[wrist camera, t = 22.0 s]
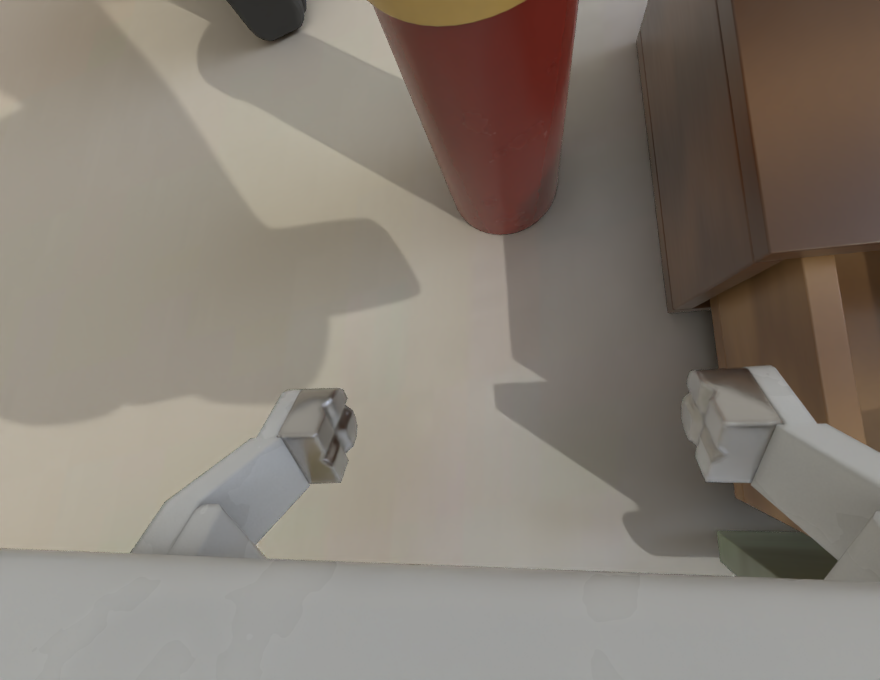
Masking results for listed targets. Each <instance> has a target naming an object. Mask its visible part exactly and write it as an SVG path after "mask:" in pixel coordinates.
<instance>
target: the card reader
mask: <svg viewBox="0 0 880 680" xmlns="http://www.w3.org/2000/svg"><path fill="white" fill-rule="evenodd" d="M227 1H228V3H229V4H230V5H231V6H232V8H233V9H234V10H235V11H236V13H237V14H238V15H239V16H240V18H241V19H242V20H243V22H244V23H245V24H246V25H247V27H248V28H249V29H250V30H251V31H252V32H253V33H254V34H255V35H256V36H258V37H259V38H261V39H263V40H268V41H272V40H275V39H277V38H279V37H281V36H283V35H285V34H287V33H289V32H291V31H293V30H296V29H298V28H299V27H300V26H301V25H302V23H303V20H304V13H305V11H306V0H227Z"/></svg>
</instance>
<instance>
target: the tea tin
mask: <svg viewBox="0 0 880 680" xmlns="http://www.w3.org/2000/svg"><path fill="white" fill-rule="evenodd" d="M367 1H369V2H370V3H371V4H372V5H373V7H374V9H375V11H376V14H377V16H378V19H379V21H380V23H381V26H382V28H383V31H384V33H385V36H386V38H387V40H388V43H389V45H390V48H391V50H392V53H393V55H394V57H395V60H396V62H397V65H398V67H399V69H400V72H401V74H402V77H403V79H404V82H405V84H406V86H407V89H408V91H409V94H410V96H411V98H412V101H413V103H414V106H415V108H416V111H417V113H418V115H419V118H420V120H421V123H422V125H423V127H424V130H425V132H426V135H427V137H428V140H429V142H430V144H431V147H432V149H433V152H434V154H435V156H436V159H437V161H438V164H439V166H440V169H441V171H442V173H443V176H444V178H445V181H446V183H447V185H448V188H449V190H450V193H451V195H452V198H453V200H454V202H455V205H456V207H457V209H458V211H459V213H460V214H461V216H462V217H463V218H464V219H465V221H467V222H468V223H469V224H470V225H471V226H473V227H474V228H476V229H478V230H480V231H483V232H486V233H490V234H499V235H502V234H511V233H515V232H519V231H522V230H524V229H526V228H528V227H530V226H531V225H533V224H534V223H536V222H537V221H538V220H539V219H540V218H541V217H542V216H543V215H544V214H545V213H546V212H547V210H548V209H549V207H550V206H551V204H552V202H553V200H554V197H555V194H556V190H557V183H558V174H559V166H560V157H561V148H562V140H563V131H564V123H565V114H566V106H567V97H568V88H569V80H570V71H571V63H572V54H573V46H574V37H575V28H576V20H577V11H578V3H579V0H367Z"/></svg>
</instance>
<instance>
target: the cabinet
mask: <svg viewBox="0 0 880 680" xmlns="http://www.w3.org/2000/svg"><path fill="white" fill-rule="evenodd" d="M636 42H637V51H638V59H639V68H640V77H641V85H642V94H643V103H644V111H645V120H646V129H647V137H648V146H649V155H650V163H651V172H652V180H653V189H654V198H655V206H656V215H657V224H658V232H659V241H660V250H661V258H662V267H663V275H664V284H665V293H666V301H667V310H668V313H678V312H691V311H704V310H711V305H710V299H711V298H713V297H715V296H717V295H719V294H720V293H722V292H724V291H726V290H728V289H730V288H732V287H734V286H736V285H737V284H739V283H741V282H743V281H745V280H747V279H749V278H751V277H753V276H755V275H756V274H758V273H760V272H762V271H764V270H766V269H768V268H770V267H772V266H774V265H775V264H777V263H779V262H781V261H783V260H784V259H794V258H804V257H815V256H825V255H836V254H846V253H857V252H867V251H878V250H880V0H648V4H647V7H646V10H645V14H644V17H643V21H642V24H641V27H640V31H639V34H638V38H637V41H636Z"/></svg>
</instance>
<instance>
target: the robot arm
mask: <svg viewBox="0 0 880 680" xmlns="http://www.w3.org/2000/svg"><path fill="white" fill-rule="evenodd" d="M686 384H687V386H688V389H689V391H690V392H689V393H688V394H687V395H686V396H684V397H683V400H682V406H681V417H682V424H683V428H684V431H685V434H686V436H687V439H688V440H690V441H691V442H692V443H694V444H695V445H697V449H696V453H695V458H696V460H697V463H698V465H699V467H700V470H701V472H702V474H703V477H704V479H705V481H706V482H724V483H751V486H753V487H754V488H755V489H756V490H757V491H758V492H759V493H761V494H762V495H763V496H764V497H765V498H766V499H768V500H769V501H770V502H771V503H772V504H773V505H774V506H776V507H777V508H778V509H779V510H780V511H781V512H783V513H784V514H785V515H786V516H787V517H788V518H789V519H791V520H792V521H793V522H794V523H795V524H796V525H798V526H799V527H800V528H801V529H802V530H803V531H804V532H806V533H807V534H808V535H809V536H810V537H811V538H813V539H814V540H815V541H816V542H817V543H818V544H819V545H821V546H822V547H823V548H824V549H825V550H826V551H828V552H829V553H830V554H831V555H832V556H833V557H834V558H836V559H837V560H838V561H837V563H836V564H835V565H834V567H833V568H832V569H831V571H830V572H829V573H828V575H827V576H826V577H825V578H824V580H815V579H789V578H763V577H737V576H710V575H684V574H658V573H632V572H606V571H580V570H554V569H528V568H501V567H475V566H448V565H421V564H394V563H368V562H342V561H316V560H290V559H266V557H265V556H264V555H263V553H262V552H261V551H260V550H259V549H258V548H257V547H256V544H257V543H258V542H259V540H260V539H261V538H262V537H263V536H264V535H265V534H266V533H267V532H268V531H269V530H270V529H271V527H272V526H273V525H274V524H275V523H276V522H277V521H278V520H279V519H280V518H281V517H282V516H283V514H284V513H285V512H286V511H287V510H288V509H289V508H290V507H291V506H292V505H293V504H294V502H295V501H296V500H297V499H298V498H299V497H300V496H301V495H302V494H303V493H304V492H305V491H306V489H307V488H308V487H309V486H310V484H317V483H341V481H342V478H343V475H344V472H345V469H346V467H347V464H348V461H349V460H348V458H347V456H346V452H347V451H349V450H350V449H351V448H352V447H353V446H354V443H355V440H356V437H357V421H356V417H355V414H354V412H353V410H352V409H350V408H349V407H347V406H346V405H345V404H346V402H347V399H348V398H347V396H346V394H345V392H344V390H343V389H340V388H319V389H296V390H286V391H284V392H283V393H282V394H281V395H280V397H279V399H278V401H277V402H276V404H275V406H274V408H273V409H272V411H271V413H270V415H269V416H268V418H267V420H266V422H265V423H264V425H263V427H262V429H261V430H260V432H259V434H258V435H257V437H256V438H250V439H249V440H248V441H246V442H245V443H244V444H242V445H241V446H240V447H238V448H237V449H236V450H234V451H233V452H232V453H230V454H229V455H228V456H226V457H225V458H223V459H222V460H221V461H219V462H218V463H217V464H215V465H214V466H213V467H211V468H210V469H209V470H207V471H206V472H205V473H203V474H202V475H201V476H199V477H198V478H196V479H195V480H194V481H192V482H191V483H190V484H188V485H187V486H186V487H184V488H183V489H182V490H180V491H179V492H178V493H176V494H175V495H174V496H172V497H171V498H170V499H168V500H167V501H165V502H164V504H163V505H162V507H161V508H160V510H159V511H158V513H157V514H156V516H155V517H154V519H153V520H152V522H151V523H150V524H149V526H148V527H147V529H146V530H145V532H144V533H143V535H142V536H141V538H140V539H139V541H138V542H137V544H136V545H135V547H134V548H133V549H132V551H131V552H130V553H110V552H85V551H59V550H34V549H11V548H0V680H880V452H878V451H876V450H874V449H872V448H871V447H869V446H867V445H865V444H863V443H861V442H859V441H858V440H856V439H854V438H852V437H850V436H848V435H846V434H845V433H843V432H841V431H839V430H837V429H835V428H834V427H832V426H830V425H828V424H817V422H816V421H815V420H814V418H813V417H812V416H811V414H810V413H809V412H808V410H807V409H806V408H805V406H804V405H803V404H802V402H801V401H800V400H799V398H798V397H797V396H796V394H795V393H794V392H793V390H792V389H791V388H790V386H789V385H788V384H787V382H786V381H785V380H784V378H783V377H782V376H781V374H780V373H779V372H778V370H777V369H776V368H775V367H773V366H771V365H765V366H749V367H742V368H741V367H736V368H718V369H701V370H691V371H690V373H689V374H688V378H687V382H686Z"/></svg>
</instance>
